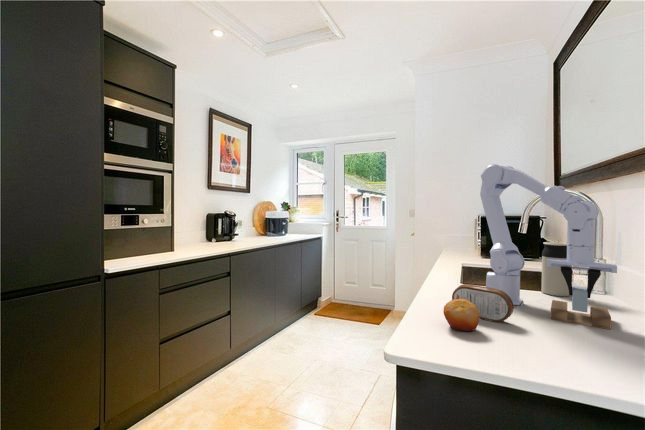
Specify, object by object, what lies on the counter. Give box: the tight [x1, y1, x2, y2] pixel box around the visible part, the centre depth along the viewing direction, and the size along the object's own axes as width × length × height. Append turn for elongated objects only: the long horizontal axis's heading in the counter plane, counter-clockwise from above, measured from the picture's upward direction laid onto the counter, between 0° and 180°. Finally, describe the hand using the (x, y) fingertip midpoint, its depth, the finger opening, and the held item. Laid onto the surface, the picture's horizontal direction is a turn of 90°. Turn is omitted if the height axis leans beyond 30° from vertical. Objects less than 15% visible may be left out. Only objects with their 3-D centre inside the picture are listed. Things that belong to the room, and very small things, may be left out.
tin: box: [451, 283, 515, 323], centre depth 86 cm, size 15×3×8 cm, turn 47°
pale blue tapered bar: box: [571, 285, 589, 313], centre depth 85 cm, size 3×9×5 cm, turn 142°
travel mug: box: [540, 241, 569, 297], centre depth 112 cm, size 8×8×18 cm
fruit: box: [442, 299, 481, 332], centre depth 78 cm, size 8×8×8 cm
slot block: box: [550, 299, 612, 330], centre depth 85 cm, size 12×10×3 cm
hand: (579, 296), depth 85 cm, fingers closed on pale blue tapered bar, 3 cm apart
